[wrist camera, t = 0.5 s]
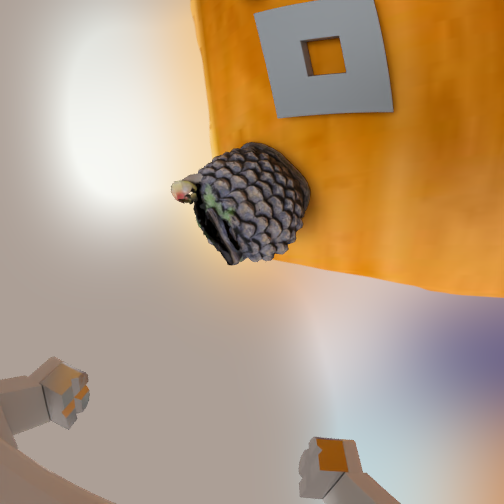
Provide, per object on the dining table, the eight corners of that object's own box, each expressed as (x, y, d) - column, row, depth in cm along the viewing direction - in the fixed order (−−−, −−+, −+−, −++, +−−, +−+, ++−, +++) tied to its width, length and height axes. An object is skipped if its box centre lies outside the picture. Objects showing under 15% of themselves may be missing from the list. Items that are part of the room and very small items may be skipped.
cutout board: (262, 16, 42) (253, 13, 40) (373, -1, 33) (372, -6, 30) (285, 114, 53) (277, 118, 50) (393, 108, 44) (393, 112, 41)
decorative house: (219, 167, 66) (144, 223, 48) (257, 118, 56) (180, 160, 38) (287, 231, 68) (237, 309, 50) (334, 192, 58) (296, 270, 40)
